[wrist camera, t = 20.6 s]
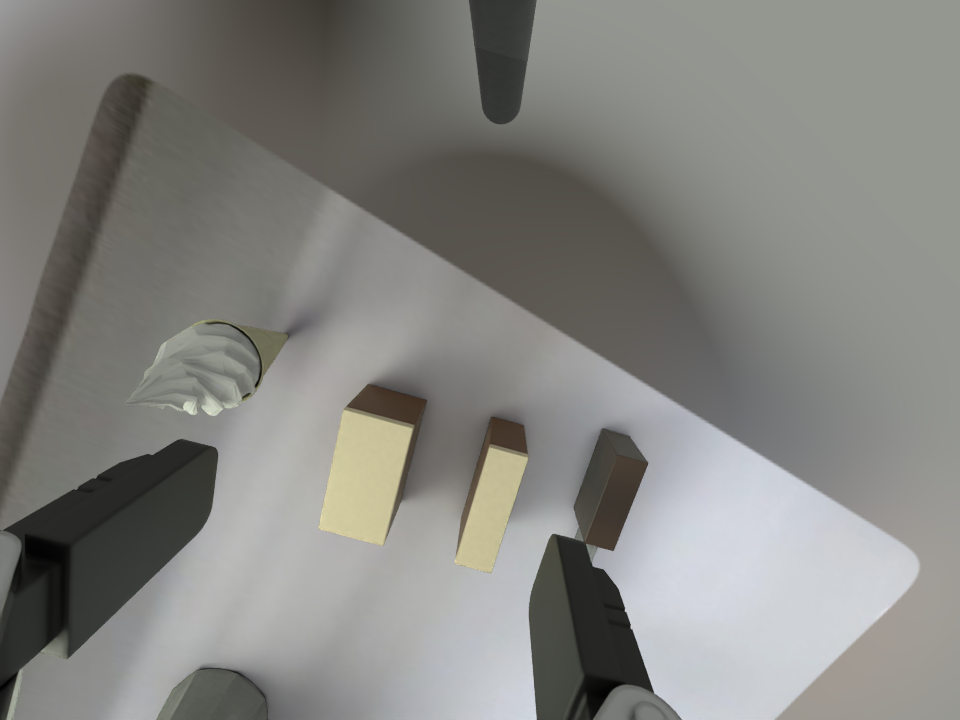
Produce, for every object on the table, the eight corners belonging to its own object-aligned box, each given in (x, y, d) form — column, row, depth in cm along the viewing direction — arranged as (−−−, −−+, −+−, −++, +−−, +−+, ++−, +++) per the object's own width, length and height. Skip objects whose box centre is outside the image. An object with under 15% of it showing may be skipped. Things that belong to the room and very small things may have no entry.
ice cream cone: (308, 379, 34) (167, 475, 20) (244, 355, 34) (53, 434, 19) (327, 317, 33) (192, 371, 18) (260, 292, 33) (71, 326, 18)
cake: (367, 383, 34) (342, 409, 29) (426, 400, 34) (413, 428, 29) (345, 487, 36) (317, 529, 31) (400, 502, 36) (383, 546, 31)
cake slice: (491, 416, 34) (489, 447, 29) (524, 425, 34) (528, 457, 29) (461, 517, 36) (454, 564, 31) (492, 525, 37) (491, 573, 31)
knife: (601, 428, 34) (616, 454, 30) (629, 435, 34) (649, 463, 30) (540, 599, 38) (545, 645, 34) (565, 606, 38) (573, 652, 34)
